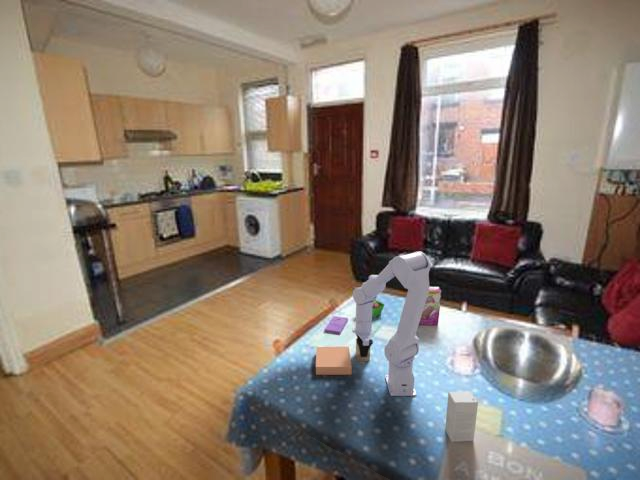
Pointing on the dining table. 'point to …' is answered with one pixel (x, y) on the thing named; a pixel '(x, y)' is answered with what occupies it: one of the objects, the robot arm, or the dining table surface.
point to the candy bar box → (431, 307)
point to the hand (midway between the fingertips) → (362, 352)
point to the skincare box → (461, 416)
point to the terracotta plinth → (333, 361)
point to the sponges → (336, 325)
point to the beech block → (360, 355)
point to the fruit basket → (377, 308)
